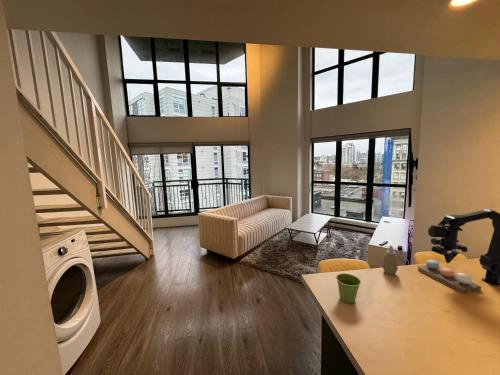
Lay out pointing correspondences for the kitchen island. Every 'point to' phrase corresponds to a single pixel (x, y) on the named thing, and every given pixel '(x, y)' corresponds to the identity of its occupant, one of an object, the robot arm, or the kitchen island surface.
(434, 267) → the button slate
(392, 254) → the squeeze bottle
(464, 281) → the cream white rounded ball
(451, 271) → the peach rounded lump
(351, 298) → the plant pot
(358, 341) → the kitchen island surface
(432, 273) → the button board
